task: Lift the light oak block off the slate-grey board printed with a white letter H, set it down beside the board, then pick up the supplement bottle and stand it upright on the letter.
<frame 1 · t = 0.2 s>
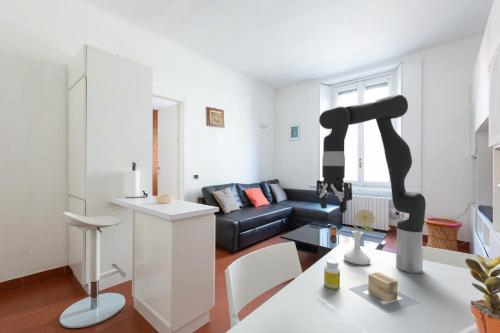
hand: (332, 210, 84), 28 cm above the table, tool pointing down, fingers open, 8 cm apart
oak block: (382, 295, 80), point 1 cm above the table, touching letter board
flower in vase: (358, 263, 109), on the table
supplement bottle: (331, 288, 86), on the table
letter board: (382, 296, 80), on the table
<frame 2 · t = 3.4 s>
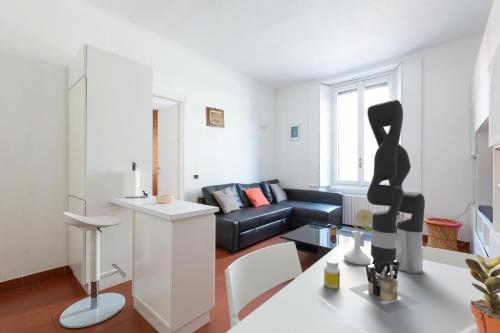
hand: (382, 293, 80), 1 cm above the table, tool pointing down, fingers closed on oak block, 5 cm apart
oak block: (382, 295, 80), point 1 cm above the table, touching gripper, letter board
everything else where it was.
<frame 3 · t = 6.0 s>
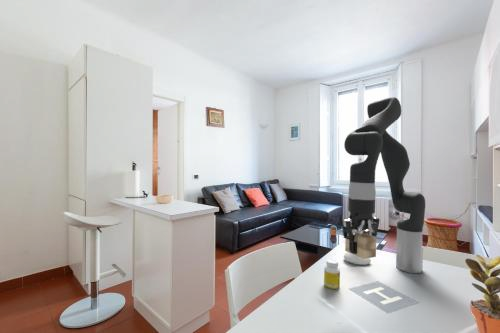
hand: (360, 251, 73), 18 cm above the table, tool pointing down, fingers closed on oak block, 5 cm apart
oak block: (360, 253, 73), point 17 cm above the table, touching gripper
everything else where it was.
when the fingers open (2 cm above the table, at t = 8.9 s): oak block drops 2 cm, on the table.
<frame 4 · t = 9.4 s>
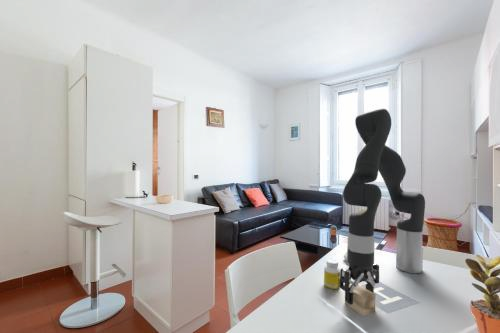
hand: (359, 300, 73), 3 cm above the table, tool pointing down, fingers open, 8 cm apart
oak block: (359, 309, 73), on the table
everything else where it was.
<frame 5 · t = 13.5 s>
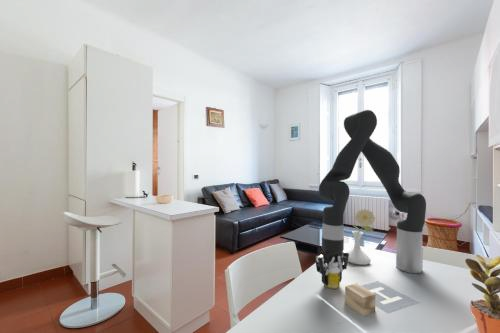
hand: (331, 282, 86), 2 cm above the table, tool pointing down, fingers closed on supplement bottle, 5 cm apart
supplement bottle: (331, 288, 86), on the table, touching gripper
everything else where it was.
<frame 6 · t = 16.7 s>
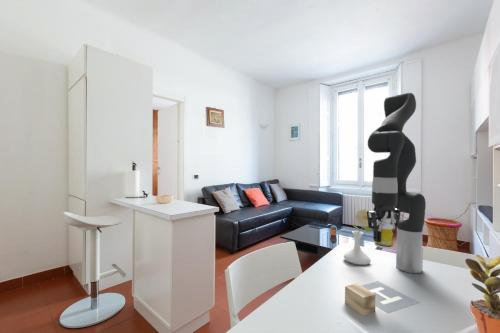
hand: (383, 240, 80), 19 cm above the table, tool pointing down, fingers closed on supplement bottle, 5 cm apart
supplement bottle: (383, 246, 80), point 17 cm above the table, touching gripper
everything else where it was.
when the fingers open (4 cm above the table, at t = 20.0 s): supplement bottle drops 1 cm, resting on letter board.
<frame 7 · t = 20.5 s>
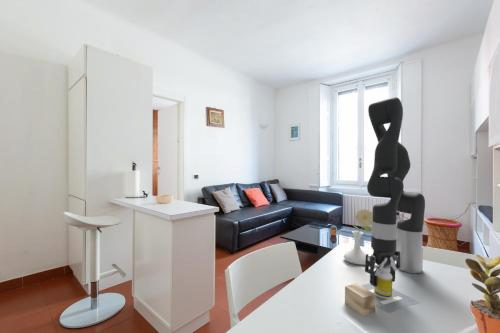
hand: (382, 283, 80), 5 cm above the table, tool pointing down, fingers open, 8 cm apart
supplement bottle: (382, 295, 81), resting on letter board
everything else where it was.
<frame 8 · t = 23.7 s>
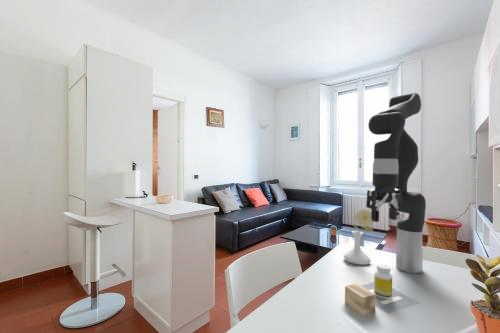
hand: (384, 220, 80), 26 cm above the table, tool pointing down, fingers open, 8 cm apart
nothing on the table moved.
at the end: supplement bottle 0.2 cm off-centre on the letter board, point 0.4 cm above the letter board's base; supplement bottle tilted 0°; oak block touching table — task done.
